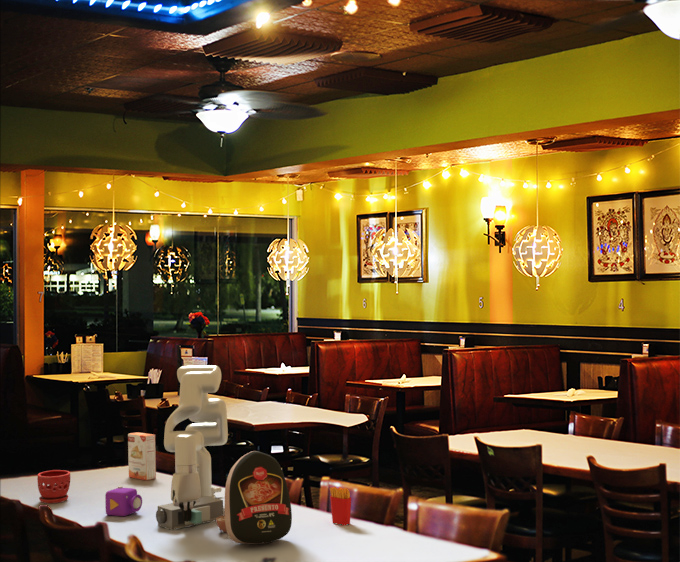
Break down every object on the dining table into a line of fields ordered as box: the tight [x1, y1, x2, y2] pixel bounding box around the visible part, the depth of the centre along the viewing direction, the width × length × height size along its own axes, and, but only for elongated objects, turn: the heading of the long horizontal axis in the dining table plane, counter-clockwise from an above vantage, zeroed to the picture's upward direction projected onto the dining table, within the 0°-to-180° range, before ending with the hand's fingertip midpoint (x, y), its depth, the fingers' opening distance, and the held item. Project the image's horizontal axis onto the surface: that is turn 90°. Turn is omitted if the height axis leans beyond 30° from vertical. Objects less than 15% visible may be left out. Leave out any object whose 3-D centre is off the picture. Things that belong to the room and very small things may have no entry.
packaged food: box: [224, 450, 293, 545], centre depth 288 cm, size 22×20×30 cm
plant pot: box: [37, 469, 71, 504], centre depth 358 cm, size 13×13×12 cm
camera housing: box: [155, 496, 224, 531], centre depth 317 cm, size 24×11×7 cm, turn 132°
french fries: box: [329, 486, 352, 526], centre depth 311 cm, size 9×4×13 cm, turn 47°
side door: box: [185, 506, 210, 525], centre depth 311 cm, size 10×6×5 cm, turn 132°
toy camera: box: [104, 485, 143, 517], centre depth 333 cm, size 11×14×10 cm
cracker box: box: [127, 431, 157, 481], centre depth 405 cm, size 14×6×21 cm, turn 49°
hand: (186, 520), depth 306 cm, fingers closed
